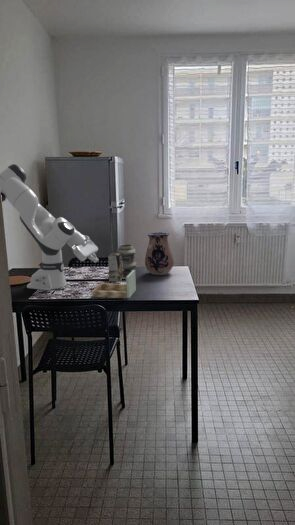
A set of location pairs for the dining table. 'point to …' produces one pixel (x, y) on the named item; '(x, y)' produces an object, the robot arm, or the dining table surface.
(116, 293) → the truck bed crate
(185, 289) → the dining table surface
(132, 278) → the pale green flat slab
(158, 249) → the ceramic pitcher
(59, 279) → the robot arm
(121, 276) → the coffee box
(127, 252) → the apothecary jar
